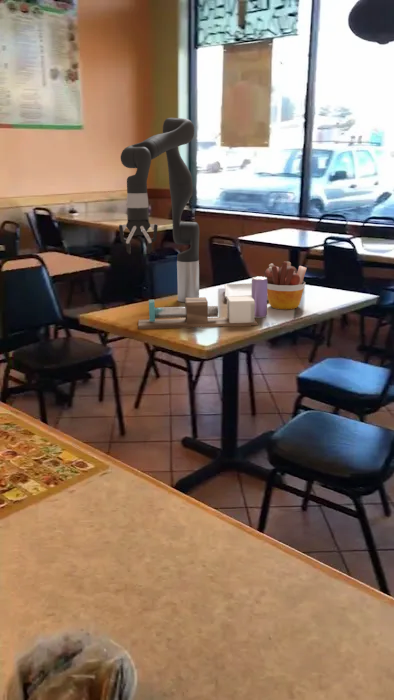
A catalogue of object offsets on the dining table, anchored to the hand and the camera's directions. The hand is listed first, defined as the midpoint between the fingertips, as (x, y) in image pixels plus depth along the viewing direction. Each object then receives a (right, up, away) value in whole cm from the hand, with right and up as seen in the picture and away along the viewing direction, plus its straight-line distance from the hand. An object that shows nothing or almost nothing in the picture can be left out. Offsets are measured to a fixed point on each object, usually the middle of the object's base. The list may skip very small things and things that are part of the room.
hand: (139, 253), depth 229 cm
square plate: (+47, -12, +52) cm, 71 cm away
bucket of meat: (+56, -17, +31) cm, 67 cm away
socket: (+37, -25, +6) cm, 45 cm away
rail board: (+21, -25, +5) cm, 33 cm away
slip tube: (+16, -23, +4) cm, 29 cm away
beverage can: (+45, -22, +15) cm, 52 cm away
